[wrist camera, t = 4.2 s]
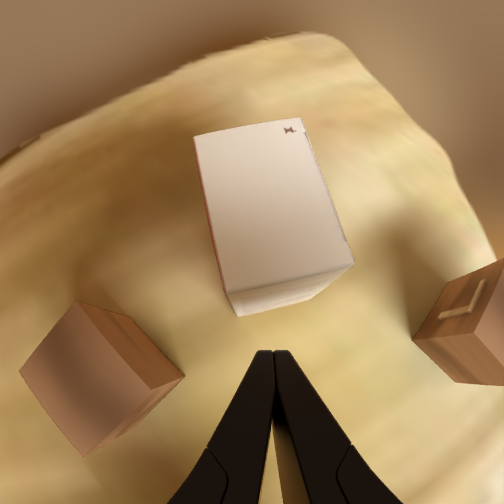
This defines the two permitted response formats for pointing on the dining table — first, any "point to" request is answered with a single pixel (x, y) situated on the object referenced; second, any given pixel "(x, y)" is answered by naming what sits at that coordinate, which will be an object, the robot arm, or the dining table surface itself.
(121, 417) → the walnut block one
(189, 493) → the robot arm
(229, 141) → the small box
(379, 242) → the dining table surface
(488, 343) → the walnut block seven
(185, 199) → the dining table surface
